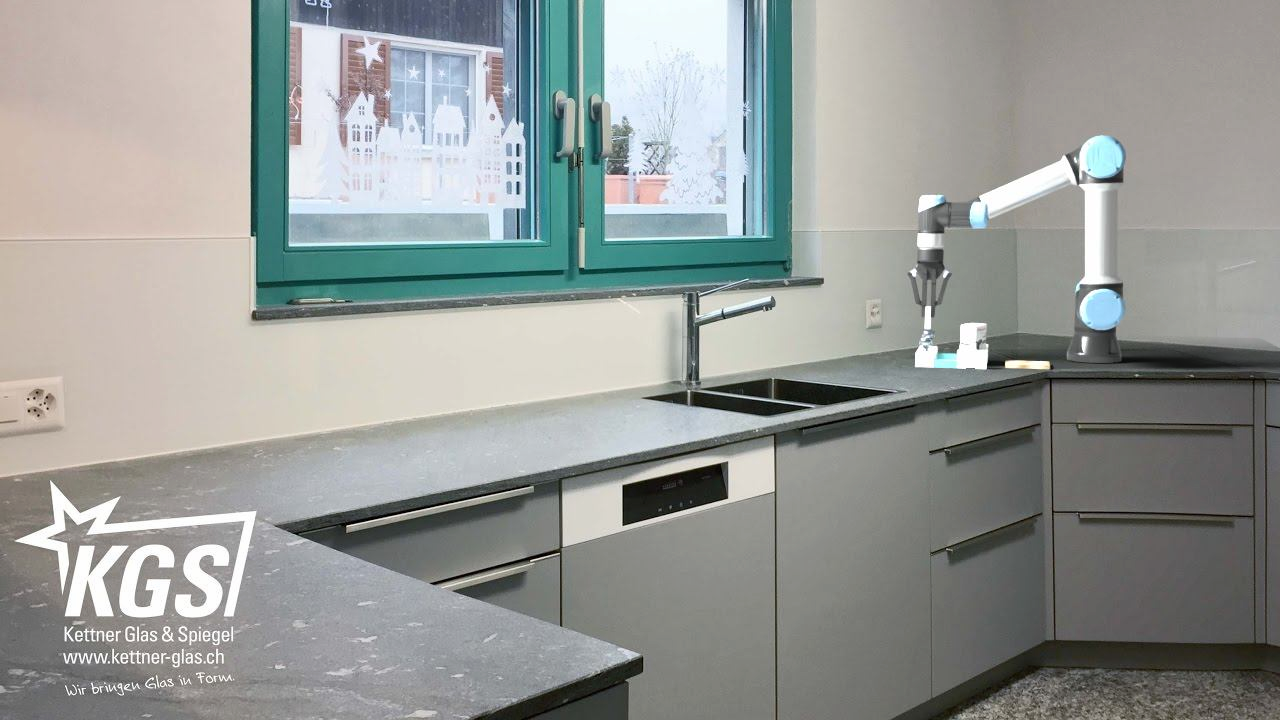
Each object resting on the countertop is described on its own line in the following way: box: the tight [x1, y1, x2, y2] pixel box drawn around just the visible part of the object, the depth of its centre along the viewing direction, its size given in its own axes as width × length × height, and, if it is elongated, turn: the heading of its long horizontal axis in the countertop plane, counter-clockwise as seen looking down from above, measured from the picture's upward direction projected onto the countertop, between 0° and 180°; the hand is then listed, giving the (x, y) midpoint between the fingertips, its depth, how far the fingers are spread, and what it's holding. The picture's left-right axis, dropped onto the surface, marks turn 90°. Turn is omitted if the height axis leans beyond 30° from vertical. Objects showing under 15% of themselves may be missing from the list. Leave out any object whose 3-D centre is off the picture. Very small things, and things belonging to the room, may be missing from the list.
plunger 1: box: [921, 329, 936, 348], centre depth 357 cm, size 4×4×7 cm
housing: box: [914, 343, 989, 370], centre depth 350 cm, size 20×19×5 cm
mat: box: [1004, 359, 1051, 370], centre depth 344 cm, size 12×10×1 cm
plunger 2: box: [918, 336, 933, 352], centre depth 347 cm, size 4×4×7 cm
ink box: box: [959, 322, 988, 350], centre depth 348 cm, size 8×5×12 cm, turn 143°
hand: (927, 328), depth 356 cm, fingers closed
